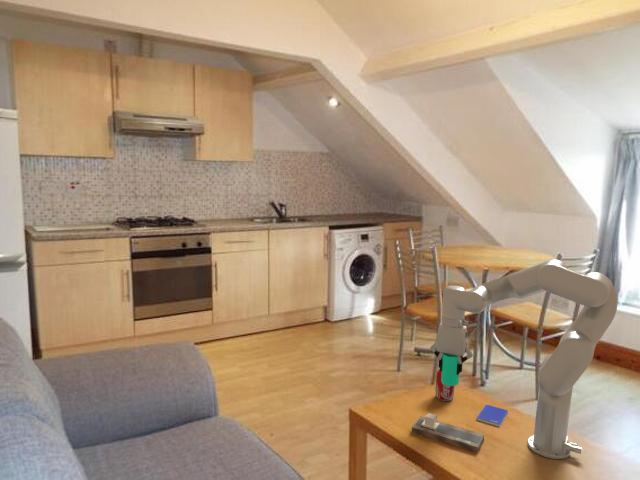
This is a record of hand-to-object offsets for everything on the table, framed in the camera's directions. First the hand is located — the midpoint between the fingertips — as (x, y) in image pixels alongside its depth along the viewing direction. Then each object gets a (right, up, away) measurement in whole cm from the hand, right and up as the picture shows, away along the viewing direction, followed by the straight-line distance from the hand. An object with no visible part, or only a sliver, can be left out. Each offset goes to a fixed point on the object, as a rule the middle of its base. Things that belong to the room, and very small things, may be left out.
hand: (450, 371), depth 178 cm
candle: (0, -4, +1) cm, 4 cm away
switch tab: (-8, -17, -6) cm, 20 cm away
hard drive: (+17, -19, +7) cm, 26 cm away
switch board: (-3, -20, -8) cm, 22 cm away
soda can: (+3, -16, +19) cm, 25 cm away
